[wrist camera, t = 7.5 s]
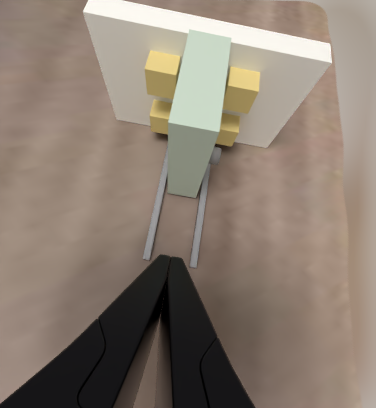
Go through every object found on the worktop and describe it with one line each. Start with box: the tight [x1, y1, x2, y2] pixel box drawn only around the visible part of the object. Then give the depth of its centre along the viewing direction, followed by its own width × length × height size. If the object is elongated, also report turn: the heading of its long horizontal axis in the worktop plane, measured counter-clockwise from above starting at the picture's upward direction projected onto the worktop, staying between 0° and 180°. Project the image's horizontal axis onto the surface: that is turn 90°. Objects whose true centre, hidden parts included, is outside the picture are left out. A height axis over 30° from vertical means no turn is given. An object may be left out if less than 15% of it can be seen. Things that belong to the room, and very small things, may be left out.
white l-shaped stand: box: [83, 0, 332, 268], centre depth 20 cm, size 27×18×11 cm, turn 171°
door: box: [168, 29, 232, 198], centre depth 19 cm, size 8×4×11 cm, turn 171°
